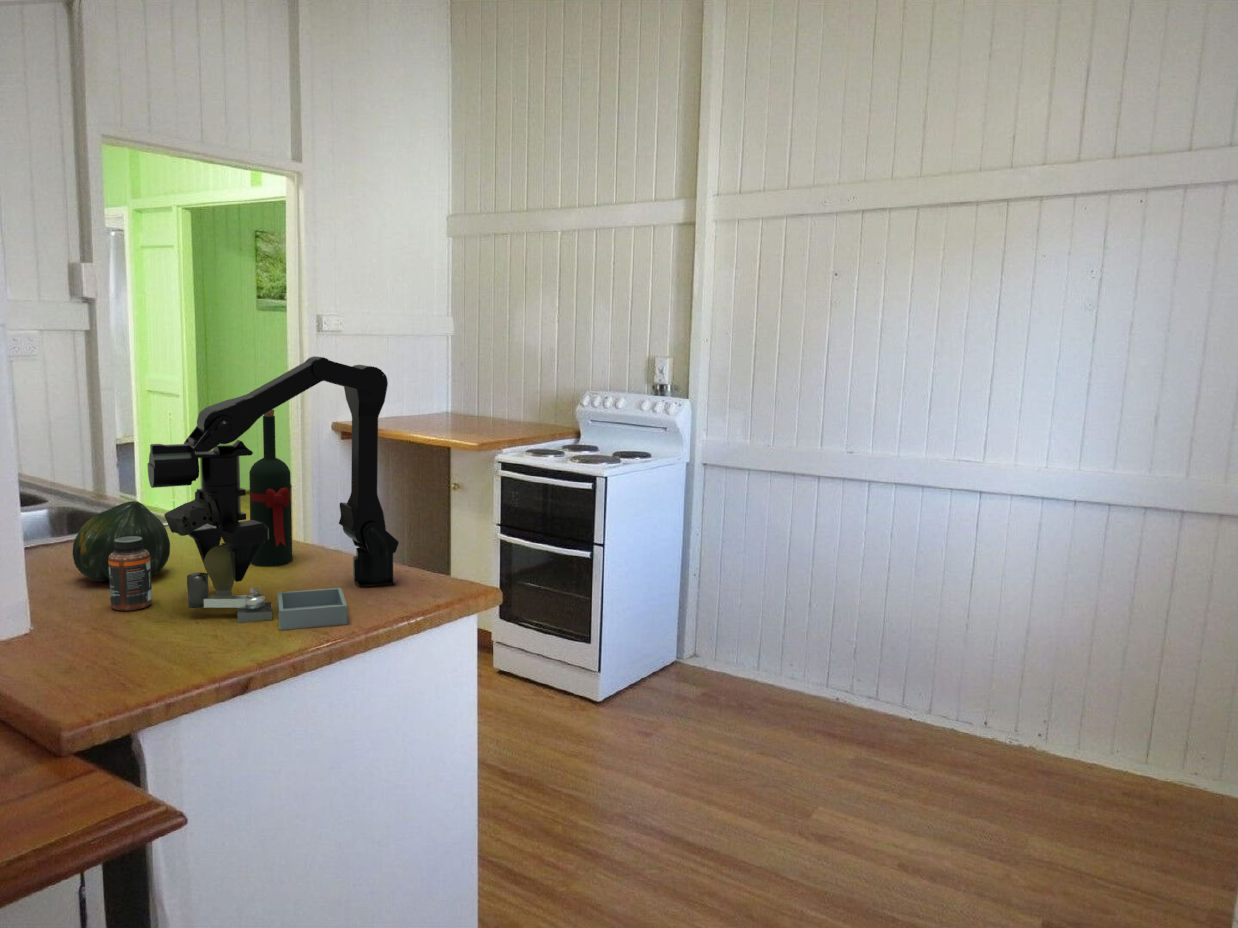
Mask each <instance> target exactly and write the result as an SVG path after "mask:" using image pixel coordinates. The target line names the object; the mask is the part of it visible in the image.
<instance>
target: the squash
mask: <svg viewBox="0 0 1238 928" xmlns="http://www.w3.org/2000/svg"><path fill="white" fill-rule="evenodd" d="M129 536H137V537H142V539H143V548H144V549H145V550H147V551H148V552H149V554H150V565H151V577H152V576H155V575H157V574H158V573H159V572H160V571H162V569H163V568H164V567H165V566H166V564H167V563H168V561H169V557H170V553H171V542H170V541H171V540H170V537H169V534H168V531H167V528H166V526H165V525H164V523H163V522H162V521H161V520H160V519H159V517H157V516H156V515H155V514H154V513H153V512H152V511H151V510H150V509H149V508H148V507H147V506H146V505H145V504H143V503H141V502H140V501H138V500H131V501H127V502H124V503H120V504H118V505H115V506H114V507H111V508H110V509H109V508H108V509H107V510H104V511H102V512H100V513H98V514H95V515H94V516H93V517H91V518H90V519H88V520H87V521H86V522H85V523H84V524H83V525H82V526H81V527H80V529H79V530H78V533H77V535H75V538H74V541H73V544H72V559H73V563H74V565H75V567H76V568H77V570H78V571H79V572H80V573H81V575H83V576H84V577H86V578H89V580H90V579H91V580H93V581H96V582H100V583H101V582H107V581H109V562H108V559H109V555H110V554H111V553H112V552H113V551H114V550H115V547H114V545H115V543H114V540H115V539H117V538H121V537H129Z"/></svg>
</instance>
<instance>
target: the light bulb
mask: <svg viewBox="0 0 1238 928" xmlns="http://www.w3.org/2000/svg"><path fill="white" fill-rule="evenodd" d="M203 565H204V566H203V567H204V570H205V571H206V572H205V573H207V574H208V578H210V581H211V584H212V586H213V589H214V590H215V595H233V592H232V590H233V587H234V583H235V580H234V575H233V570H232V563H231V556H230V552H229V550H227V549H226V548H225V547H224V546H223V545H222V544H220V545H218V546H215V547H213V548H212V549H210V550H209V552H208V553H207V554H206V556H205V559H204V564H203Z"/></svg>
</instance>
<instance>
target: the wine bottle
mask: <svg viewBox="0 0 1238 928" xmlns="http://www.w3.org/2000/svg"><path fill="white" fill-rule="evenodd" d="M262 433H263V434H262V437H263V439H262V440H263V441H262V442H263V444H262V445H263V446H262V447H263V457H262V458H260V459H259V460H257V461H256V462H254V463H253V464H252V466H251V468H250V470H249V473H248V474H249V477H248V478H249V479H248V480H249V520H255V521H258V522H262V523H264V524H265V525H266V526H268V527H269V539H268V540H265V542H264V544H261V545H260V547H259V549H258V550H257V552H256V554H255V556H254V557H253V559H252V561H251V563H250V565H252V566H255V567H263V568H270V567H280V566H285V565H289V564H290V563H292V562H293V527H292V526H293V525H292V523H293V522H292V521H293V520H292V488H291V487H292V484H291V483H292V482H291V470H290V467H289V466H288V465H287V464H286V462H285V461H283V460H281V459H280V458H277V456H276V455H277V453H276V450H277V449H276V416H275V409H272V410H271V411H269V412H267V413H265V414H264V415H262Z"/></svg>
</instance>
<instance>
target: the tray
mask: <svg viewBox="0 0 1238 928" xmlns="http://www.w3.org/2000/svg"><path fill="white" fill-rule="evenodd" d="M277 615H278V626H279V631H282V630H283V631H284V630H285V631H286V630H294V629H295V630H296V629H308V628H317V627H318V628H320V627H328V626H340V625H348V604H347V600H346V598H345V595H344V591H343V589H342V588H341V587H334V588H320V589H307V590H305V589H304V590H294V591H293V590H290V591H279V592H277Z"/></svg>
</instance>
